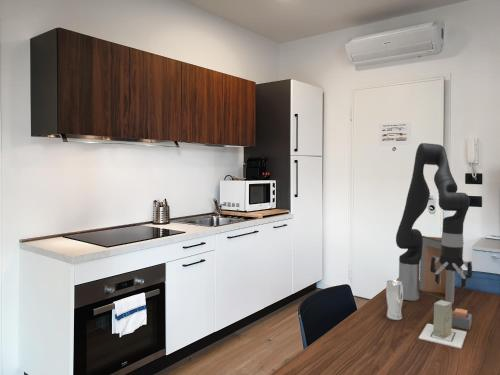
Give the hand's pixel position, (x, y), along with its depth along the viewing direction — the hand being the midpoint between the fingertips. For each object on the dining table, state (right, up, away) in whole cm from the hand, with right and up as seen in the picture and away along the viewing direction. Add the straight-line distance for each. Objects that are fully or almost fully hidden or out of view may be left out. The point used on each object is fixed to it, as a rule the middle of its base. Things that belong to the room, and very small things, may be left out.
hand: (450, 285), depth 154 cm
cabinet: (+17, -15, +41) cm, 47 cm away
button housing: (+7, -17, +6) cm, 20 cm away
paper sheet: (-5, -18, -4) cm, 19 cm away
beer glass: (-17, -17, +14) cm, 28 cm away
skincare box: (-5, -18, -4) cm, 19 cm away
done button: (+7, -14, +6) cm, 17 cm away
